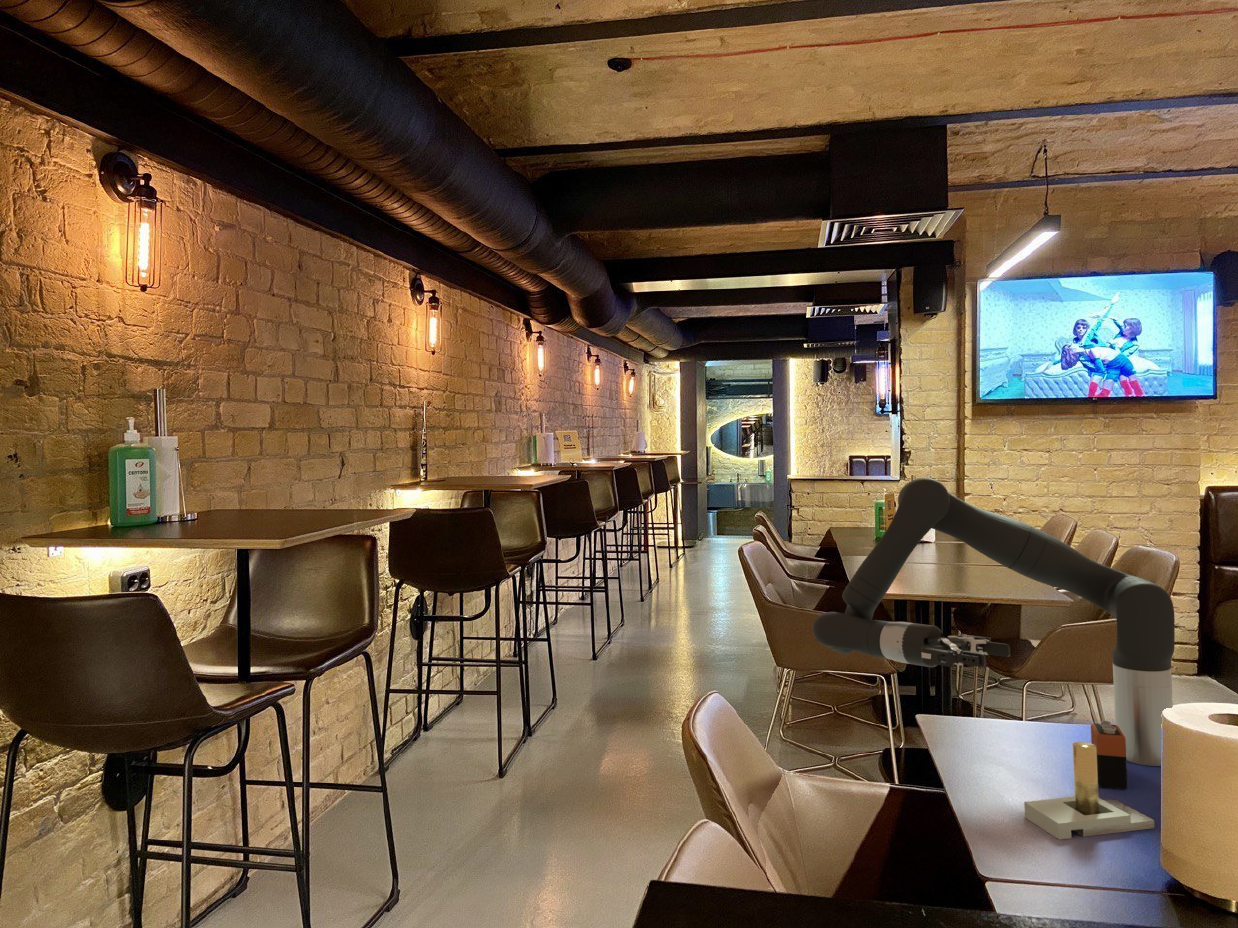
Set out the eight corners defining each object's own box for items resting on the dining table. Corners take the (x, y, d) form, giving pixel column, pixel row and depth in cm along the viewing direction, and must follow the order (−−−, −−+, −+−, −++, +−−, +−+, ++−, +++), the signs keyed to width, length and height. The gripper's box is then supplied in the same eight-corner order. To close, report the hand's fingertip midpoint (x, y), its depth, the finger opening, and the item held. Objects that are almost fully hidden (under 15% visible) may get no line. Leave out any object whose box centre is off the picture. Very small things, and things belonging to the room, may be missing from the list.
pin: (1089, 816, 129) (1086, 740, 129) (1104, 825, 126) (1101, 747, 126) (1071, 819, 129) (1067, 742, 129) (1085, 827, 125) (1082, 749, 125)
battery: (1098, 787, 140) (1096, 729, 140) (1092, 773, 146) (1089, 717, 146) (1128, 790, 138) (1125, 731, 138) (1120, 775, 145) (1118, 719, 145)
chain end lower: (1083, 836, 123) (1083, 828, 123) (1047, 814, 131) (1047, 806, 131) (1154, 827, 124) (1154, 820, 124) (1115, 806, 132) (1114, 798, 132)
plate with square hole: (1092, 808, 132) (1092, 794, 132) (1131, 830, 124) (1130, 814, 124) (1024, 816, 130) (1024, 801, 130) (1059, 839, 122) (1058, 823, 122)
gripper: (888, 629, 148) (975, 641, 135) (930, 616, 157) (1015, 626, 144) (891, 671, 148) (978, 686, 135) (933, 656, 157) (1018, 669, 144)
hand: (997, 655), depth 140 cm, fingers open, 8 cm apart
